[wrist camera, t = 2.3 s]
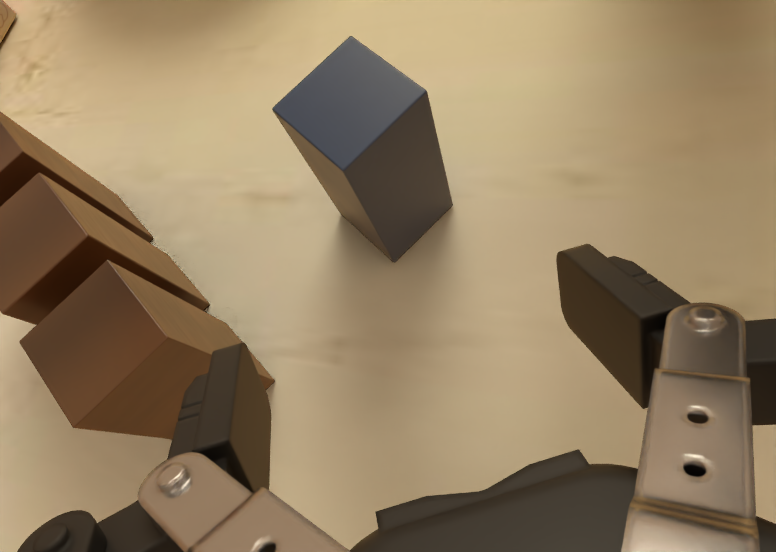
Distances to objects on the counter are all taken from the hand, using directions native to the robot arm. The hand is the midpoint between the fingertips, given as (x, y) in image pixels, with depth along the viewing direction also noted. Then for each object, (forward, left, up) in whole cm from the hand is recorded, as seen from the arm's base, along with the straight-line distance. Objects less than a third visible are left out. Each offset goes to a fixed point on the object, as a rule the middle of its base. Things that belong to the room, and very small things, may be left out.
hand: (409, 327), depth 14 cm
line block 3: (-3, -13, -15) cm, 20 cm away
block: (-11, -2, -15) cm, 18 cm away
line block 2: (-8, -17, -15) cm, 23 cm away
